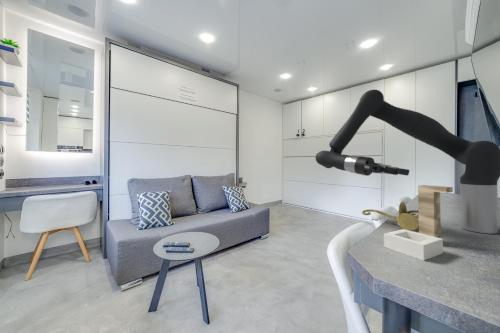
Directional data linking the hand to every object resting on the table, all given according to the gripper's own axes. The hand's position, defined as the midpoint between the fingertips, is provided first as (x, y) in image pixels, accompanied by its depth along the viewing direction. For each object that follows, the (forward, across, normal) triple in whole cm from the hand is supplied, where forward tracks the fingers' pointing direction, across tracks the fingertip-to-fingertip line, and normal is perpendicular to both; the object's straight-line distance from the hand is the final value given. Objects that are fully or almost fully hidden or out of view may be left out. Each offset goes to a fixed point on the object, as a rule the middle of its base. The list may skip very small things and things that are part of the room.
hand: (403, 172), depth 71 cm
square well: (+10, -12, +21) cm, 26 cm away
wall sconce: (+8, +15, +16) cm, 23 cm away
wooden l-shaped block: (+12, 0, +20) cm, 24 cm away
